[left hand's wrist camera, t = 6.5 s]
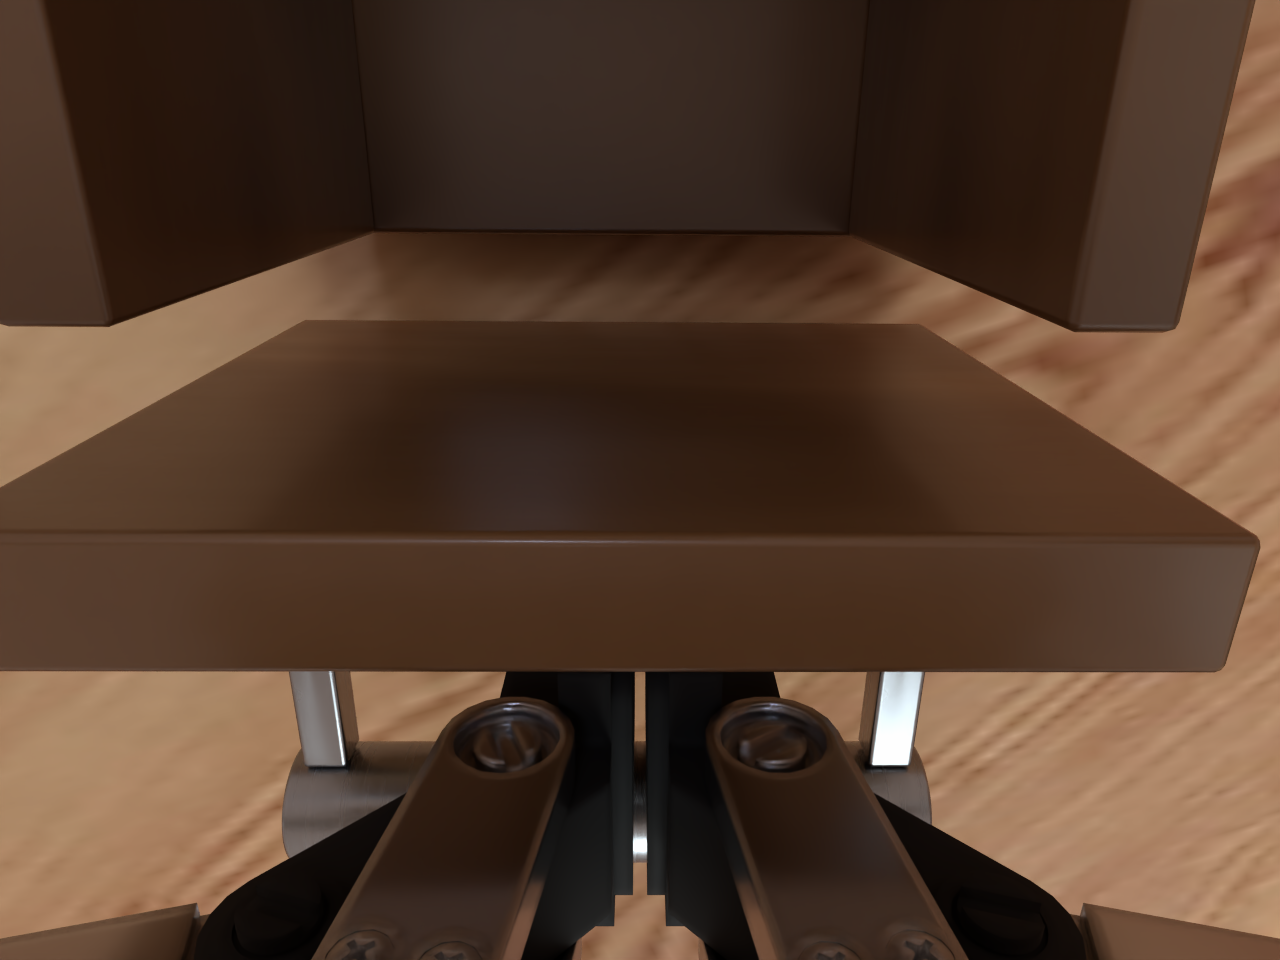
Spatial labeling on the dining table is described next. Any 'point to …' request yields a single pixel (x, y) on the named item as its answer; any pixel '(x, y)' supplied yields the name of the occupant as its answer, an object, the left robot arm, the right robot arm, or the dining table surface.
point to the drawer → (609, 351)
